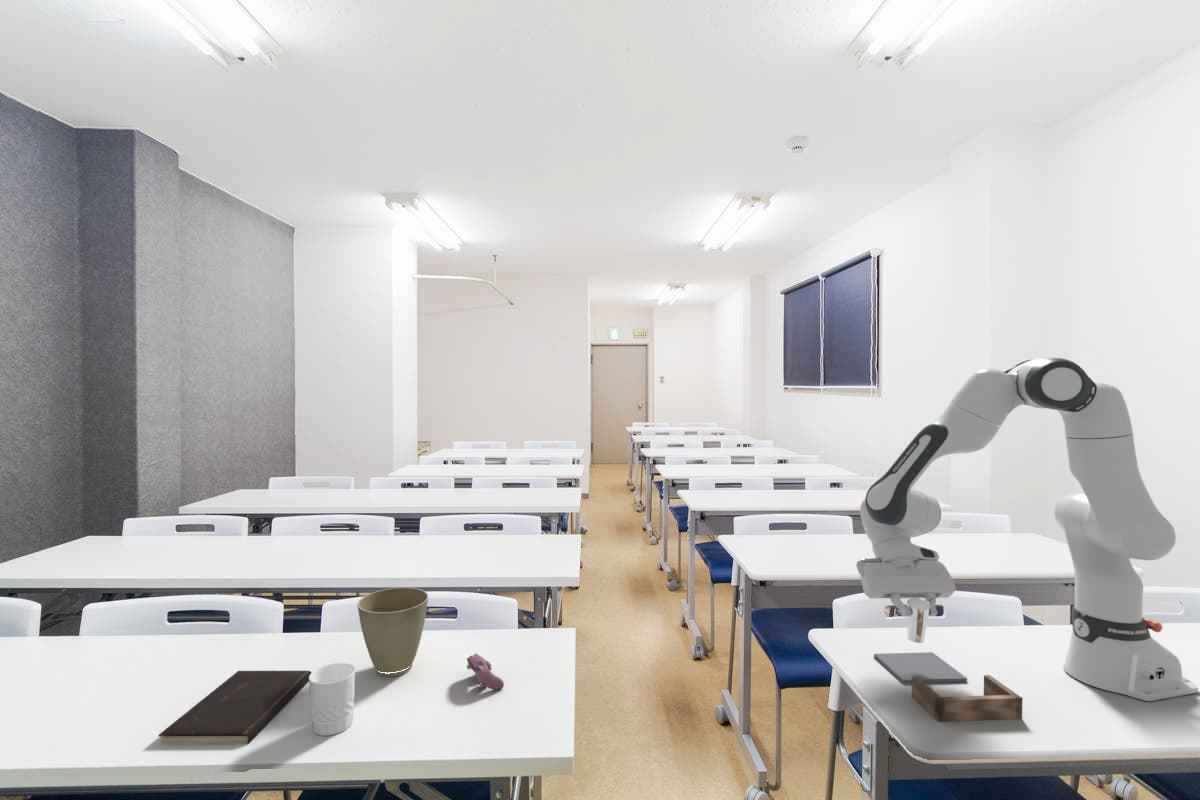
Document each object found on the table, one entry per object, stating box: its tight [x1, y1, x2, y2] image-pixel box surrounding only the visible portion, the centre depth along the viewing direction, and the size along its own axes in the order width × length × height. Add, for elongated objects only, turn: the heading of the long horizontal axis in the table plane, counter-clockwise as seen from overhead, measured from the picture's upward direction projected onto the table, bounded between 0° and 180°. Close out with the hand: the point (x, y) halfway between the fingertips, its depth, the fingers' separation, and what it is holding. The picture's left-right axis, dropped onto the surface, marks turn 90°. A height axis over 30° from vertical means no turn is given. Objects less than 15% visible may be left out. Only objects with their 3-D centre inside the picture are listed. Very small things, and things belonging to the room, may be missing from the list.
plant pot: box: [356, 586, 429, 678], centre depth 130 cm, size 15×15×16 cm
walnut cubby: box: [911, 674, 1023, 722], centre depth 115 cm, size 16×9×4 cm, turn 93°
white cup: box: [308, 662, 356, 737], centre depth 109 cm, size 8×8×10 cm
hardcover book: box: [158, 670, 312, 745], centre depth 115 cm, size 16×23×2 cm
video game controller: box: [466, 652, 505, 691], centre depth 124 cm, size 10×5×7 cm, turn 28°
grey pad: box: [873, 651, 968, 685], centre depth 130 cm, size 14×12×1 cm
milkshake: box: [906, 597, 934, 644], centre depth 130 cm, size 5×5×10 cm
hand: (920, 615), depth 129 cm, fingers closed on milkshake, 4 cm apart
